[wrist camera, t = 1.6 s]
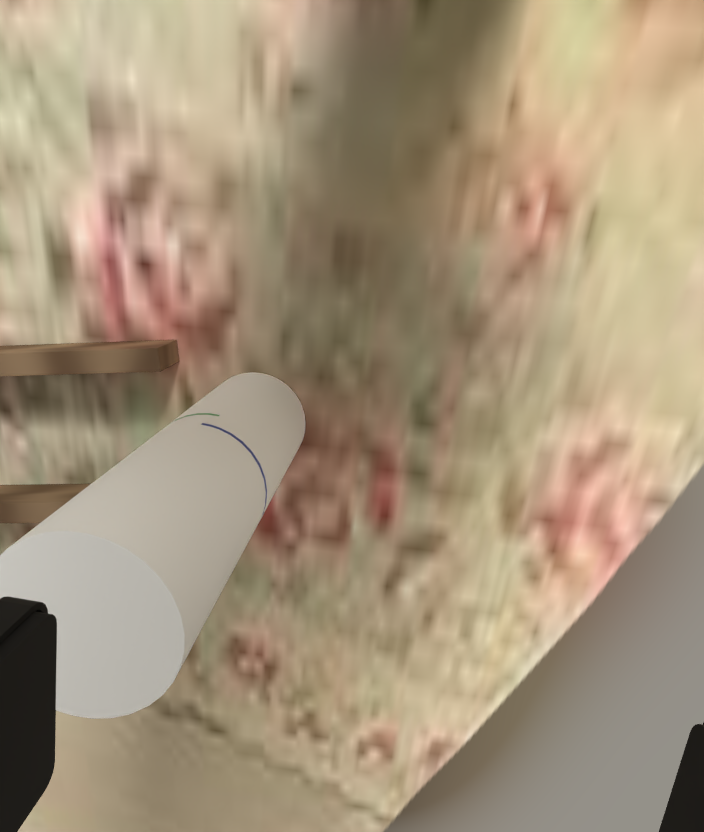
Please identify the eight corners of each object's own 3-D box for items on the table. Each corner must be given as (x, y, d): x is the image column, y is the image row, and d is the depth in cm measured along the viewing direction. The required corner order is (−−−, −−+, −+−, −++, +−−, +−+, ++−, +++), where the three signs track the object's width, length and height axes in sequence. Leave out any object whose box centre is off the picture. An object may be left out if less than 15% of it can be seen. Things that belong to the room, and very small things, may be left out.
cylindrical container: (286, 484, 47) (151, 747, 23) (193, 447, 46) (-40, 673, 22) (320, 395, 45) (212, 580, 21) (223, 356, 44) (2, 498, 20)
